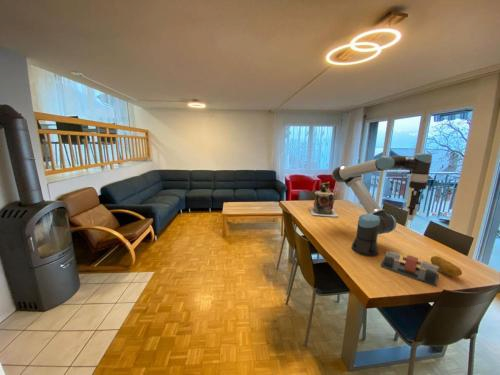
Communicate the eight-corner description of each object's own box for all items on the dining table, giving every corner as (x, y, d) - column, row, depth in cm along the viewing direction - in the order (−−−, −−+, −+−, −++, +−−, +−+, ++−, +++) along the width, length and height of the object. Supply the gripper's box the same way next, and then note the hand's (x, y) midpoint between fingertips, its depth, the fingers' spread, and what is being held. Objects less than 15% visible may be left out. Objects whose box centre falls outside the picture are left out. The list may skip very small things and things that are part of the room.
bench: (380, 266, 117) (382, 253, 115) (385, 258, 125) (387, 246, 123) (436, 287, 100) (440, 272, 99) (438, 276, 109) (441, 262, 107)
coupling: (419, 271, 111) (421, 259, 110) (418, 275, 108) (420, 262, 106) (401, 265, 116) (404, 253, 115) (400, 268, 113) (402, 257, 111)
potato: (450, 281, 105) (453, 268, 104) (425, 265, 119) (427, 253, 118) (463, 281, 106) (466, 268, 104) (437, 265, 120) (439, 253, 118)
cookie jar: (308, 208, 222) (311, 179, 215) (332, 210, 219) (335, 180, 212) (312, 216, 198) (315, 183, 191) (339, 217, 195) (342, 184, 188)
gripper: (424, 185, 104) (417, 224, 108) (429, 179, 122) (422, 214, 126) (406, 182, 109) (399, 220, 113) (413, 178, 127) (406, 211, 131)
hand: (411, 217), depth 120 cm, fingers open, 13 cm apart
